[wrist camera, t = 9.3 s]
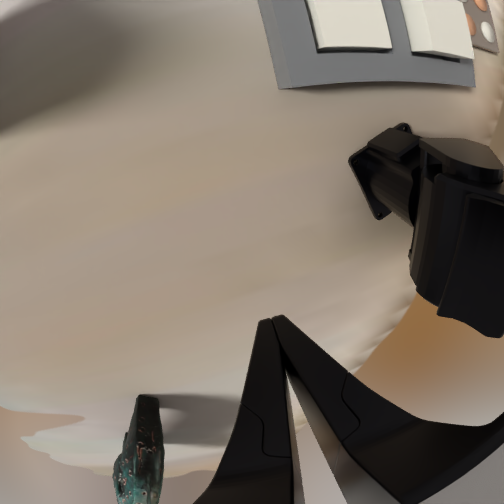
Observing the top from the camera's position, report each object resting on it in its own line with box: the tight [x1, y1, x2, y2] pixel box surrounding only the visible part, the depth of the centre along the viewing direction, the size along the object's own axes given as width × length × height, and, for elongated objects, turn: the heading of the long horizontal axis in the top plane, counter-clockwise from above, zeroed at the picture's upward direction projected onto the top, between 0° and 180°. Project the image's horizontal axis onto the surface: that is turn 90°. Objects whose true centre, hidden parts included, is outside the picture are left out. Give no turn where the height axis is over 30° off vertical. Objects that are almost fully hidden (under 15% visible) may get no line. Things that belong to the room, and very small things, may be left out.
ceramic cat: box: [113, 395, 165, 504], centre depth 27 cm, size 20×6×20 cm, turn 154°
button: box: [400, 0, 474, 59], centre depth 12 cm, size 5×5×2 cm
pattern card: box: [460, 0, 499, 53], centre depth 13 cm, size 8×8×1 cm
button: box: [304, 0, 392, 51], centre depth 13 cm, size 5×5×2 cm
